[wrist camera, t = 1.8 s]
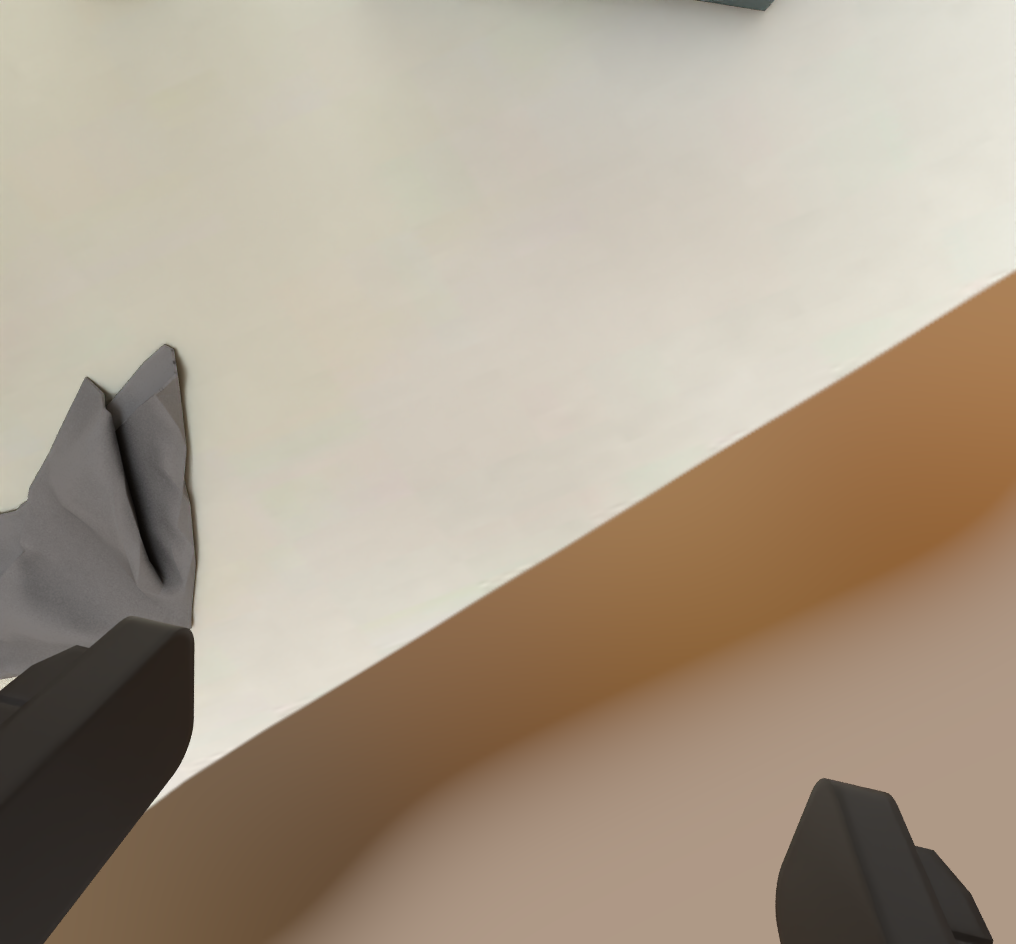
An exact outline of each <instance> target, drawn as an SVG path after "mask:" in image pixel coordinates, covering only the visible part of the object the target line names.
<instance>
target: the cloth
mask: <svg viewBox="0 0 1016 944" xmlns="http://www.w3.org/2000/svg"><path fill="white" fill-rule="evenodd" d="M186 450H187V447H186V438H185V430H184V421H183V412H182V404H181V395H180V387H179V380H178V373H177V366H176V360H175V353H174V349H173V348H171V347H169V346H168V345H166V344H164V345H163V346H161V347H160V348H159V349H158V350H157V351H156V352H155V353H154V354H152V355H151V356H150V357H149V358H148V359H147V360H146V361H145V362H143V364H142V365H141V366H140V367H139V368H138V370H137V371H136V372H135V373H134V374H133V376H132V377H131V378H130V379H129V380H128V382H127V383H126V384H125V385H124V386H123V388H122V389H121V390H120V391H119V392H118V394H117V395H116V396H115V397H114V398H113V399H112V401H111V402H110V403H109V404H108V405H107V406H106V407H105V394H104V393H103V392H102V391H101V390H100V389H99V388H98V387H97V386H96V385H95V384H94V383H93V382H92V381H91V380H90V379H89V378H88V377H85V379H84V381H83V383H82V385H81V387H80V389H79V391H78V393H77V395H76V397H75V399H74V401H73V403H72V405H71V407H70V409H69V412H68V414H67V416H66V418H65V420H64V422H63V424H62V426H61V428H60V430H59V432H58V434H57V437H56V439H55V441H54V443H53V445H52V447H51V449H50V452H49V454H48V455H47V457H46V459H45V461H44V463H43V464H42V466H41V468H40V470H39V472H38V473H37V475H36V477H35V479H34V481H33V483H32V484H31V486H30V488H29V494H28V501H26V502H24V503H23V504H21V505H20V506H19V508H18V509H17V510H16V511H12V512H7V513H2V514H0V679H6V678H11V677H16V676H19V675H20V674H22V673H23V672H24V671H25V670H27V669H28V668H29V667H30V666H31V665H34V664H36V663H38V662H40V661H42V660H45V659H47V658H49V657H51V656H53V655H56V654H58V653H60V652H62V651H64V650H67V649H69V648H71V647H73V646H75V645H79V646H83V647H88V648H90V647H91V646H92V645H93V644H94V643H95V642H97V641H98V640H99V639H100V638H101V637H102V636H104V635H105V634H106V633H107V632H108V631H109V630H111V629H112V628H113V627H114V626H115V625H116V624H117V623H119V622H120V621H121V620H123V619H124V618H126V617H128V616H138V617H142V618H146V619H151V620H155V621H159V622H164V623H168V624H172V625H176V626H181V627H185V628H188V629H190V628H191V621H192V602H193V591H194V580H195V567H196V561H195V551H194V540H193V529H192V518H191V506H190V501H189V497H188V493H187V489H186V485H185V481H184V473H185V462H186Z"/></svg>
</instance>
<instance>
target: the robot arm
mask: <svg viewBox="0 0 1016 944" xmlns="http://www.w3.org/2000/svg"><path fill="white" fill-rule="evenodd" d="M193 723H194V637H193V634H192V632H191V631H190V629H188V628H185V627H181V626H176V625H172V624H168V623H164V622H159V621H155V620H151V619H146V618H142V617H138V616H128V617H126V618H124V619H123V620H121V621H120V622H119V623H117V624H116V625H115V626H114V627H113V628H112V629H111V630H109V631H108V632H107V633H106V634H105V635H104V636H102V637H101V638H100V639H99V640H98V641H97V642H95V643H94V644H93V645H92V646H91V647H90V648H88V647H83V646H79V645H75V646H73V647H71V648H69V649H67V650H64V651H62V652H60V653H58V654H56V655H53V656H51V657H49V658H47V659H45V660H42V661H40V662H38V663H36V664H34V665H31V666H30V667H29V668H28V669H27V670H25V671H24V672H23V673H22V674H20V675H19V676H18V677H17V678H15V679H14V680H13V681H12V682H10V683H9V684H8V685H7V686H6V687H4V688H3V689H2V690H1V691H0V944H44V942H45V941H46V940H47V938H48V937H49V936H50V935H51V933H52V932H53V931H54V929H55V928H56V927H57V925H58V924H59V923H60V922H61V920H62V919H63V917H64V916H65V915H66V914H67V912H68V911H69V910H70V909H71V907H72V906H73V905H74V903H75V902H76V901H77V899H78V898H79V897H80V895H81V894H82V893H83V892H84V890H85V889H86V888H87V886H88V885H89V884H90V883H91V881H92V880H93V879H94V877H95V876H96V875H97V873H98V872H99V871H100V869H101V868H102V867H103V866H104V864H105V863H106V862H107V860H108V859H109V858H110V857H111V855H112V854H113V853H114V851H115V850H116V849H117V847H118V846H119V845H120V844H121V842H122V841H123V840H124V838H125V837H126V836H127V834H128V833H129V832H130V831H131V829H132V828H133V826H134V825H135V824H136V822H137V821H138V820H139V819H140V818H141V816H142V815H143V814H144V812H145V811H146V810H147V808H148V807H149V806H150V805H151V803H152V802H153V801H154V799H155V798H156V797H157V795H158V794H159V793H160V792H161V790H162V789H163V788H164V786H165V785H166V784H167V782H168V781H169V780H170V779H171V777H172V776H173V775H174V773H175V772H176V770H177V769H178V767H179V765H180V764H181V762H182V760H183V758H184V755H185V753H186V751H187V748H188V745H189V742H190V739H191V735H192V731H193ZM776 921H777V927H778V933H779V937H780V942H781V944H993V939H992V937H991V935H990V933H989V930H988V928H987V927H986V924H985V922H984V920H983V918H982V916H981V914H980V912H979V910H978V908H977V906H976V903H975V901H974V899H973V897H972V895H971V893H970V892H969V891H968V890H967V889H966V887H965V886H964V885H963V884H962V883H961V882H960V881H959V879H958V878H957V877H956V876H955V875H954V873H953V872H952V871H951V870H950V869H949V868H948V866H947V865H946V864H945V863H944V862H943V861H942V859H941V858H940V857H939V856H938V855H937V854H936V852H935V851H934V850H930V849H926V848H922V847H918V846H915V845H914V843H913V840H912V838H911V836H910V833H909V831H908V829H907V826H906V824H905V822H904V820H903V817H902V815H901V813H900V810H899V808H898V806H897V804H896V802H895V800H894V799H893V797H892V796H891V795H890V794H888V793H886V792H882V791H877V790H873V789H869V788H864V787H860V786H856V785H852V784H848V783H843V782H839V781H835V780H830V779H826V778H823V779H820V780H819V781H818V782H817V783H816V785H815V786H814V788H813V790H812V792H811V795H810V797H809V799H808V802H807V804H806V807H805V809H804V812H803V814H802V817H801V819H800V822H799V824H798V826H797V829H796V831H795V834H794V836H793V839H792V841H791V844H790V846H789V849H788V851H787V854H786V856H785V858H784V861H783V863H782V866H781V869H780V872H779V877H778V882H777V888H776Z"/></svg>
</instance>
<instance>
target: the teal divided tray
mask: <svg viewBox="0 0 1016 944" xmlns="http://www.w3.org/2000/svg"><path fill="white" fill-rule="evenodd" d="M699 1H705V2H712V3H718V4H724V5H731V6H737V7H743V8H750V9H756V10H762V11H765V10H766V9H767V8H768V7H769V6H770V4H771V3H772V2H773V1H774V0H699Z"/></svg>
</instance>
